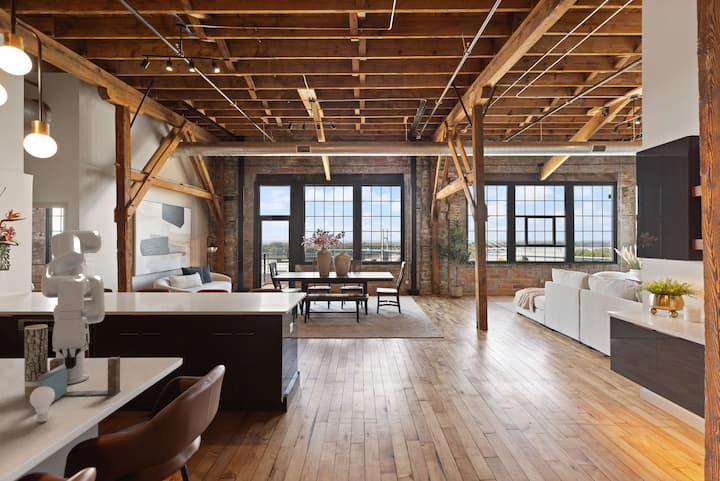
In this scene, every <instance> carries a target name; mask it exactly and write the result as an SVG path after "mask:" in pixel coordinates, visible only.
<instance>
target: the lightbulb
mask: <svg viewBox="0 0 720 481" xmlns="http://www.w3.org/2000/svg"><path fill="white" fill-rule="evenodd" d="M54 398H55V392H54V390H53V389H52V388H51V387H48V386H41V387H38V388H36V389H35V390H34V391H33V392H32V393H31V395H30V398H29V403H30V404H31V406H32V407H34V409H35V413H36V415H37V419H36V420H37V422H38V423H41V424H42V423H45V422H47V421H48V420H49V418H48V417H49V415H48V414H49V413H48V412H49V410H50V407H51V405H52V404H53V402H54V401H55V400H54ZM53 400H54V401H53Z"/></svg>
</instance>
